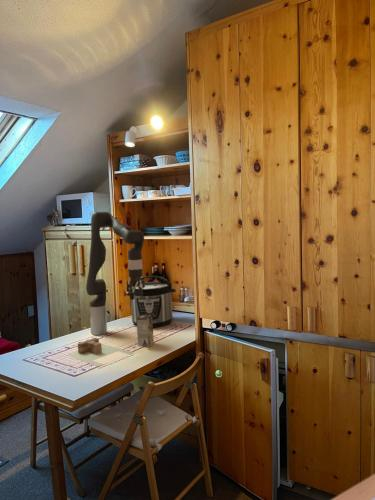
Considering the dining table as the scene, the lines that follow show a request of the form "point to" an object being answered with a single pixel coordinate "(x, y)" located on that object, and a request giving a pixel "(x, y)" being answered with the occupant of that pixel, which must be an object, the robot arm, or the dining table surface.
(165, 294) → the pressure cooker
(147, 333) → the coffee box
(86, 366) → the dining table surface
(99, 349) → the t block
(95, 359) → the board
